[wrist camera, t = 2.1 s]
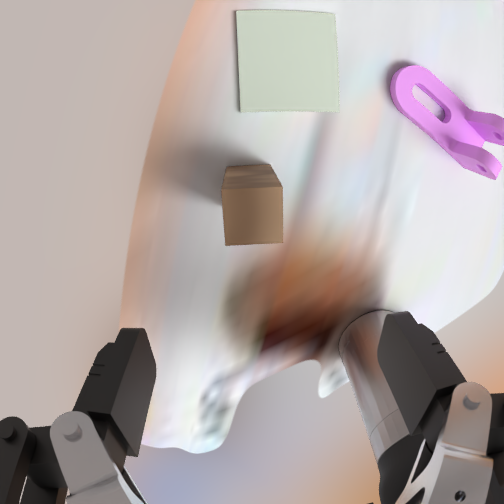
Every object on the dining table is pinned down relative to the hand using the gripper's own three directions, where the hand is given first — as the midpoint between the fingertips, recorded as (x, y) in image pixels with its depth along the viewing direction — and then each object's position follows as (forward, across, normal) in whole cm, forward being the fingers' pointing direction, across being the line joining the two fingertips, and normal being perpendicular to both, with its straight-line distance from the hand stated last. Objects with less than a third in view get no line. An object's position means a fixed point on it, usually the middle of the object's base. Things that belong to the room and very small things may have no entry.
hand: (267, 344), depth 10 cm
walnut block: (+22, 0, 0) cm, 22 cm away
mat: (+22, -4, -12) cm, 25 cm away
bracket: (+22, -20, -8) cm, 31 cm away
